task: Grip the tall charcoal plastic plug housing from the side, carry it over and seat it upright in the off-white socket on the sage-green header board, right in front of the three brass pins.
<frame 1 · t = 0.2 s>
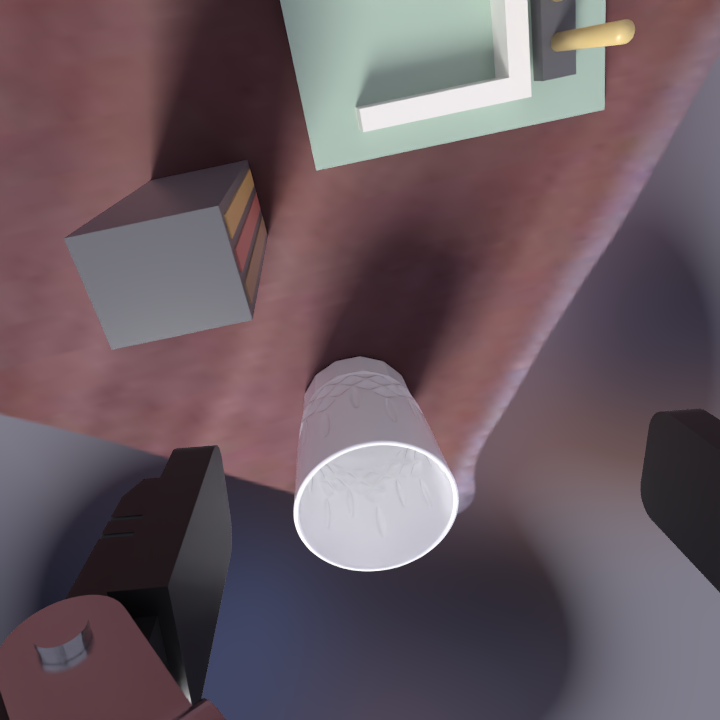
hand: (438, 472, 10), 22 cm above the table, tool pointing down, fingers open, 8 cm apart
white cup: (356, 401, 36), on the table
header board: (414, 23, 27), on the table
plug housing: (211, 209, 29), on the table
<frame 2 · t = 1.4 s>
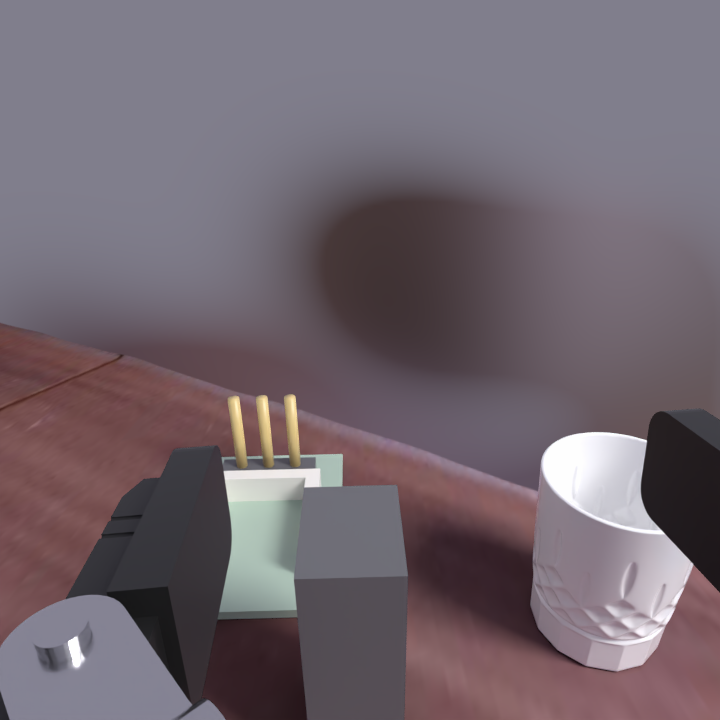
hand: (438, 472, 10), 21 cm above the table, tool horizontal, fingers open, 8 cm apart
white cup: (591, 620, 32), on the table
header board: (259, 542, 38), on the table
plug housing: (357, 717, 27), on the table
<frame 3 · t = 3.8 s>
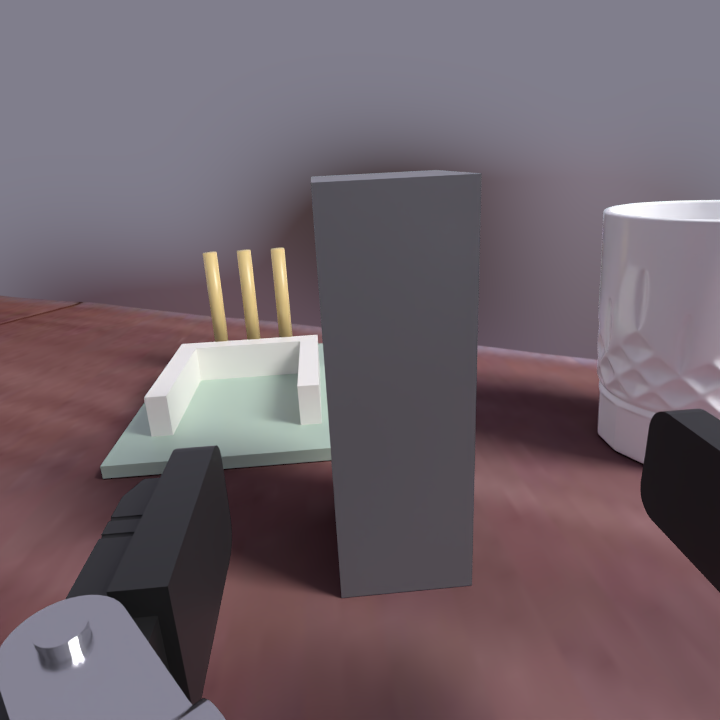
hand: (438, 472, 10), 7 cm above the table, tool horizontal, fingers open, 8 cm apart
white cup: (676, 442, 25), on the table
header board: (246, 410, 30), on the table
plug housing: (395, 539, 20), on the table
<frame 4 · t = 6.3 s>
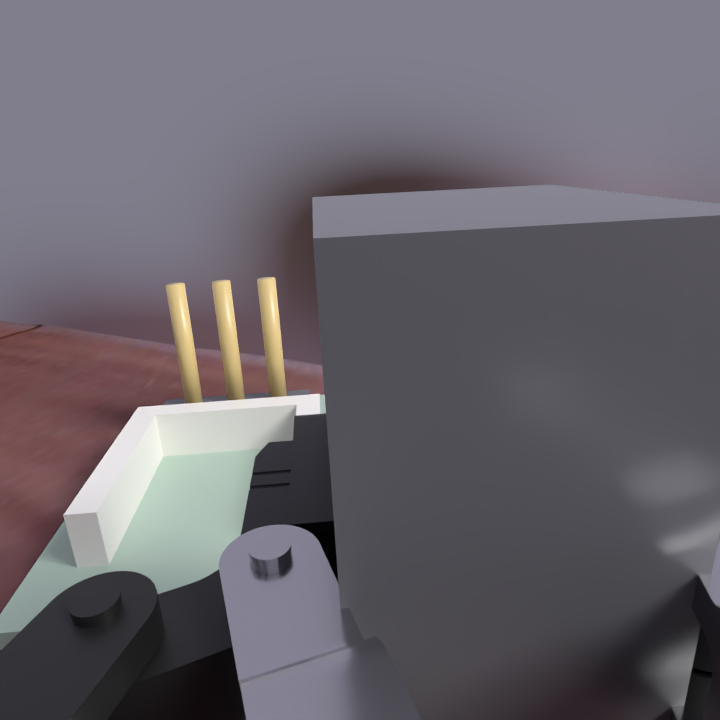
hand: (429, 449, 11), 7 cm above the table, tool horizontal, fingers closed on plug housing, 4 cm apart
header board: (222, 509, 22), on the table
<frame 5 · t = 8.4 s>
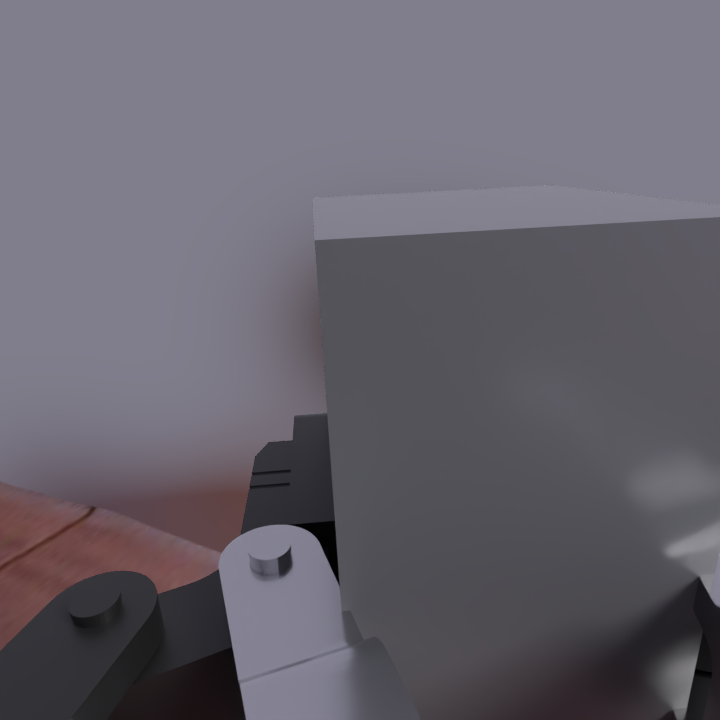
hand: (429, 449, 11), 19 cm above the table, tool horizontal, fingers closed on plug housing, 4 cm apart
when the fingers open (9 cm above the table, at t = 10.7 s): plug housing drops 2 cm, resting on header board.
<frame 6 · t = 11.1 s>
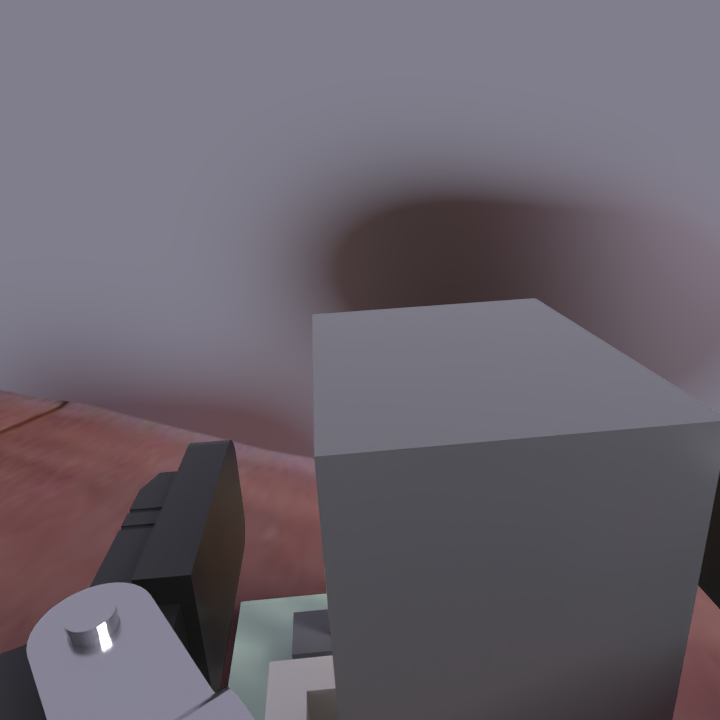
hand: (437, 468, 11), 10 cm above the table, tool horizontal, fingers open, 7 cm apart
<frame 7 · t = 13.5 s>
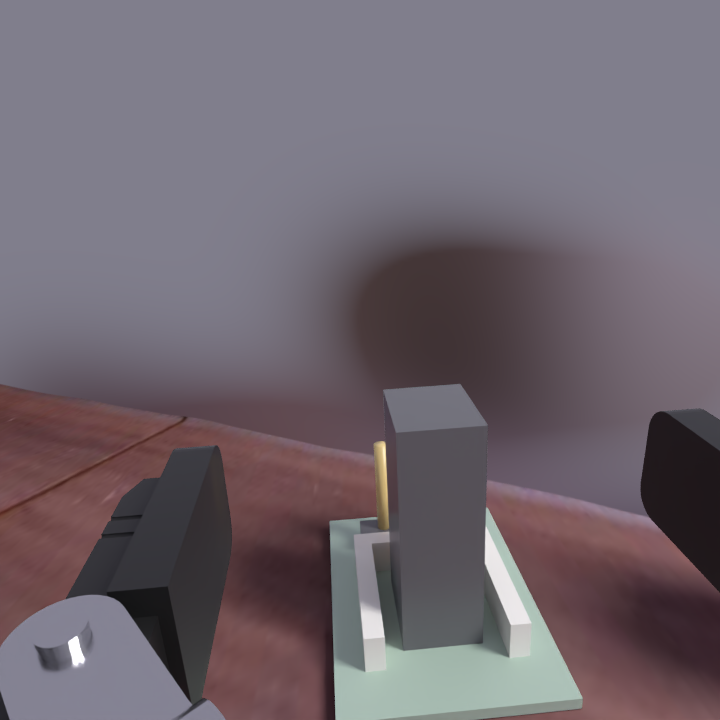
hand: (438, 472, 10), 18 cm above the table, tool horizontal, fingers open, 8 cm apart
header board: (434, 619, 31), on the table
plug housing: (433, 610, 30), point 1 cm above the table, touching header board
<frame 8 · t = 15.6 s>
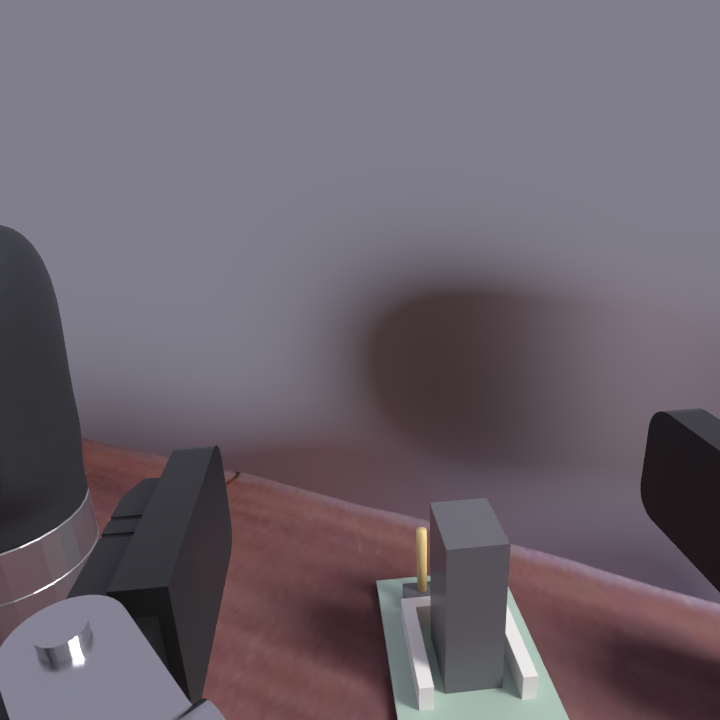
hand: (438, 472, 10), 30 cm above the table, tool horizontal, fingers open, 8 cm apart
header board: (464, 666, 41), on the table
plug housing: (464, 660, 41), point 1 cm above the table, touching header board
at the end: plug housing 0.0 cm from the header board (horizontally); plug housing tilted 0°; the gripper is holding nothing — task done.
